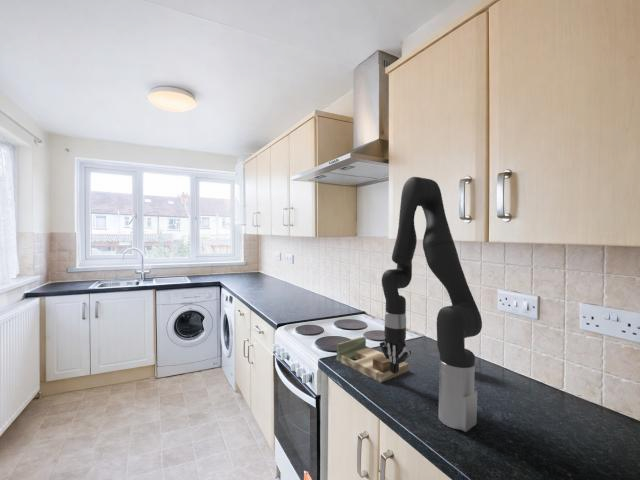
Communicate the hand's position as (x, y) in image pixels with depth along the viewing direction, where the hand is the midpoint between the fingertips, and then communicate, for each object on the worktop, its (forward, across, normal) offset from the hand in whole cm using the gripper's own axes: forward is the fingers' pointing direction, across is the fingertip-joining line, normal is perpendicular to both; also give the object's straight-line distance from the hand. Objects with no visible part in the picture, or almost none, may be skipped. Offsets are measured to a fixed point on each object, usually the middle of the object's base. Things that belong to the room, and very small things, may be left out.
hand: (394, 372), depth 112 cm
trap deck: (+4, +14, -4) cm, 15 cm away
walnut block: (+1, +6, 0) cm, 6 cm away
